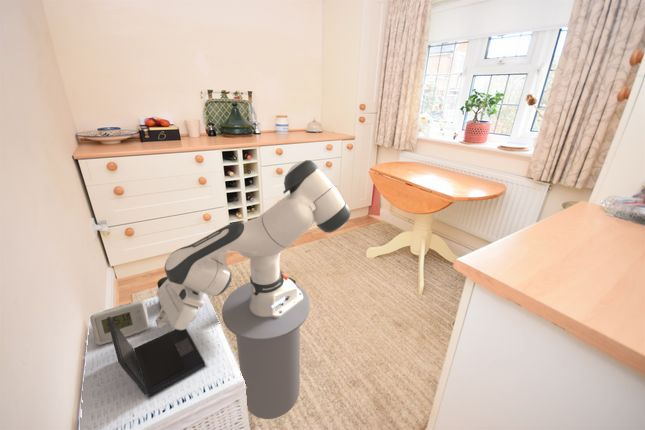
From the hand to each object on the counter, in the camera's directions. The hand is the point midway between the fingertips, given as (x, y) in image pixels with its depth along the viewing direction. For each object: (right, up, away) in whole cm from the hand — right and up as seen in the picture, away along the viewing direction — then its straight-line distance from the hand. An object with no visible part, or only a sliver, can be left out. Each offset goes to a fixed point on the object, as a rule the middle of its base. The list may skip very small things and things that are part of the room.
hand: (158, 324), depth 89 cm
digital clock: (-20, -9, +15) cm, 27 cm away
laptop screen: (-7, -7, -4) cm, 11 cm away
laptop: (0, -14, +6) cm, 15 cm away
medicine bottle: (-11, -3, +29) cm, 32 cm away
